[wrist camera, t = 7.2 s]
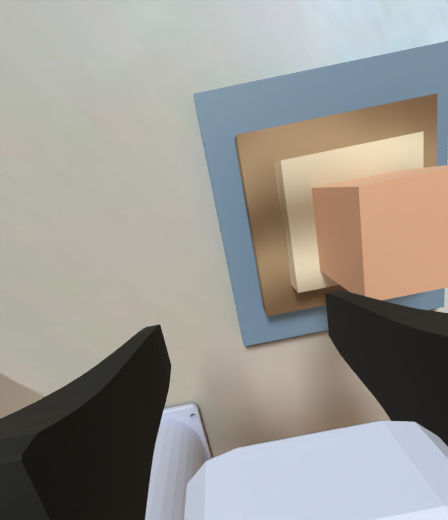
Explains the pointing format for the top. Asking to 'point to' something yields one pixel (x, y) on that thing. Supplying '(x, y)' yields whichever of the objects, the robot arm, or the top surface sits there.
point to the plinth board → (296, 109)
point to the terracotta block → (385, 232)
